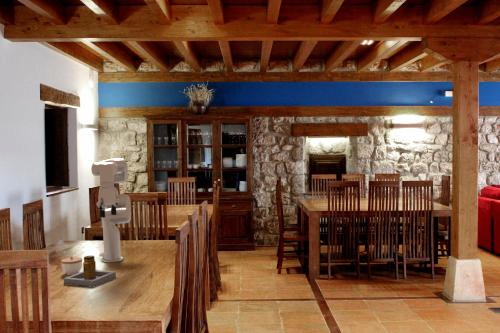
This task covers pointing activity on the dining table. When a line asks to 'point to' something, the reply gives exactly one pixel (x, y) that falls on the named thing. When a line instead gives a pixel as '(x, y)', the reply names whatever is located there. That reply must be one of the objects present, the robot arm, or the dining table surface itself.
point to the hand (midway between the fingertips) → (108, 216)
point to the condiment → (89, 268)
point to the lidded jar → (71, 265)
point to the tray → (79, 280)
